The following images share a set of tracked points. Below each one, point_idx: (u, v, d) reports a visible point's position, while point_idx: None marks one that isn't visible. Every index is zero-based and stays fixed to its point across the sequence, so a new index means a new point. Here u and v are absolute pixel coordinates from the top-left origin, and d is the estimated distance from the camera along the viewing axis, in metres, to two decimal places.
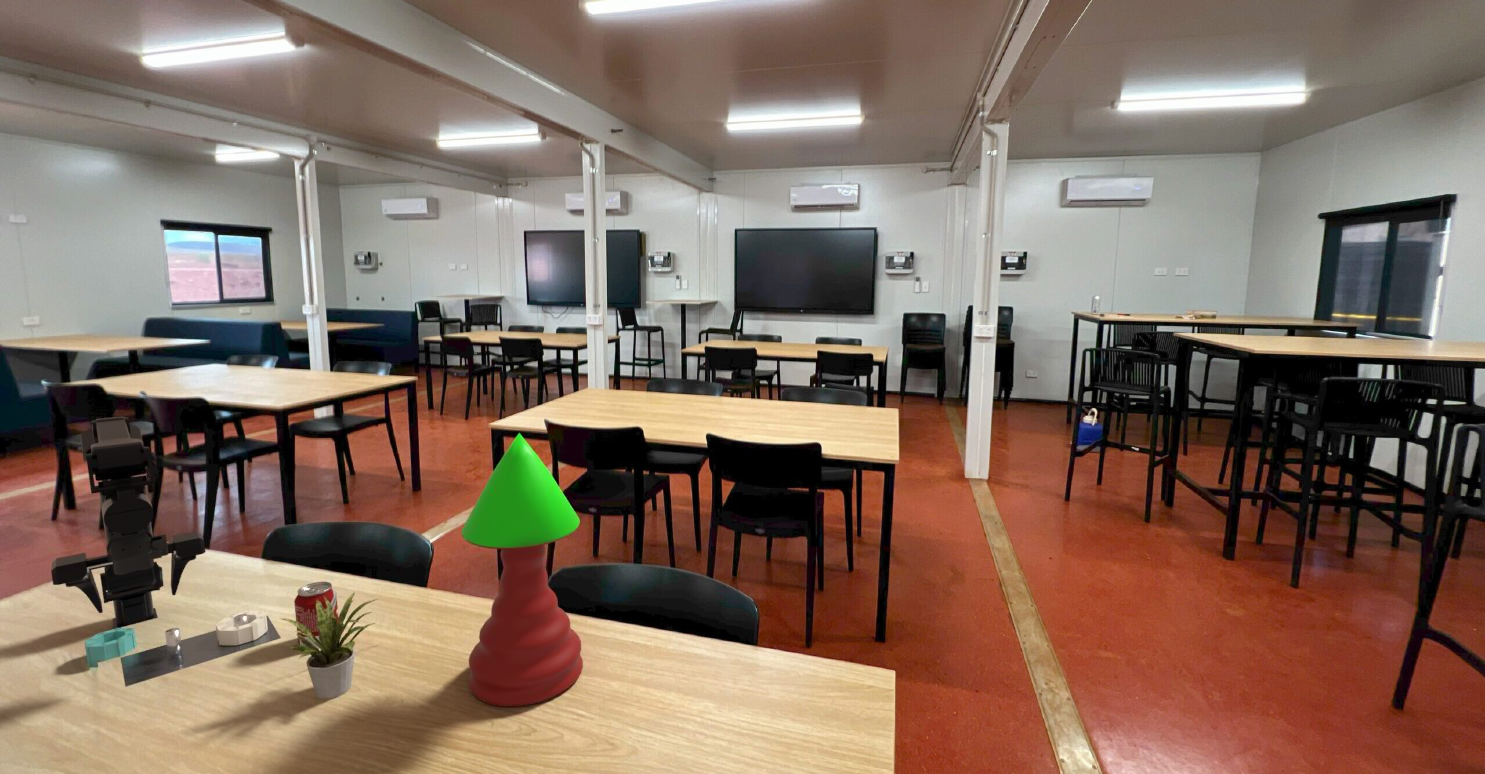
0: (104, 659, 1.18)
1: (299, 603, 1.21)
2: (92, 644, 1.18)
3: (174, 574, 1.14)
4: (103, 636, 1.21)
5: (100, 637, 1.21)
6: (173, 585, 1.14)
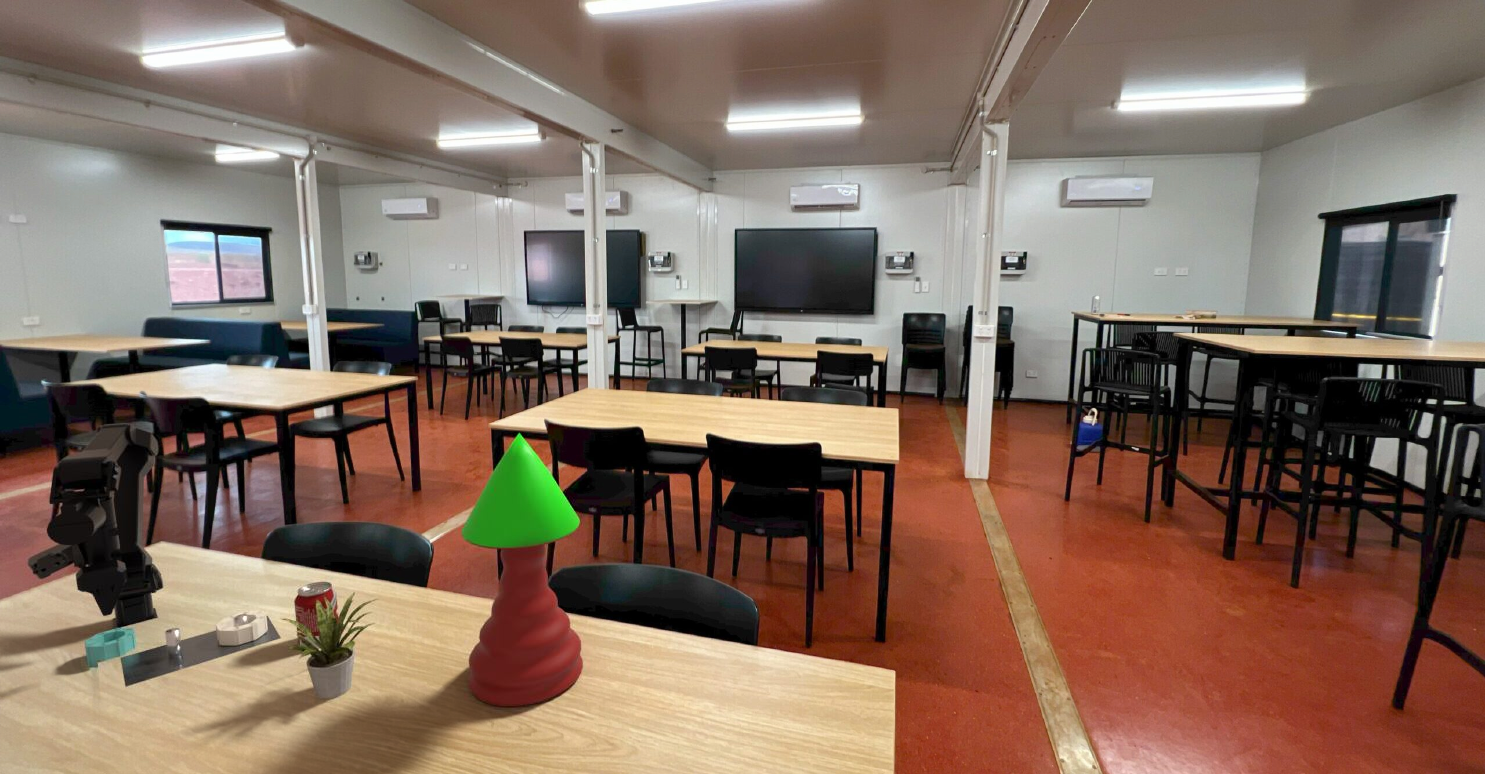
0: (104, 659, 1.18)
1: (299, 603, 1.21)
2: (92, 644, 1.18)
3: (94, 596, 1.15)
4: (103, 636, 1.21)
5: (100, 637, 1.21)
6: None
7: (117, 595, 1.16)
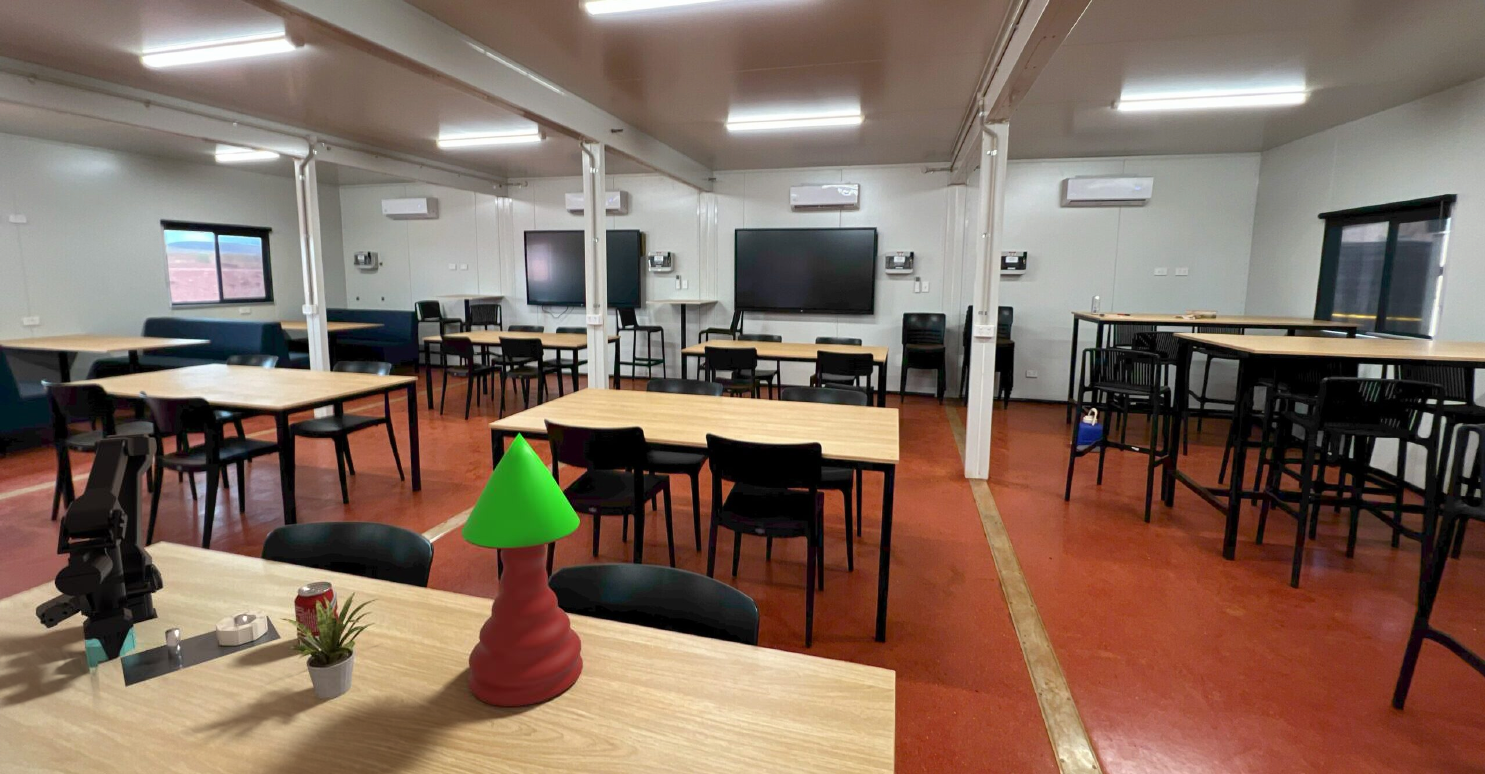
0: (104, 659, 1.18)
1: (299, 603, 1.21)
2: (92, 644, 1.18)
3: None
4: None
5: None
6: (105, 651, 1.17)
7: (123, 640, 1.18)
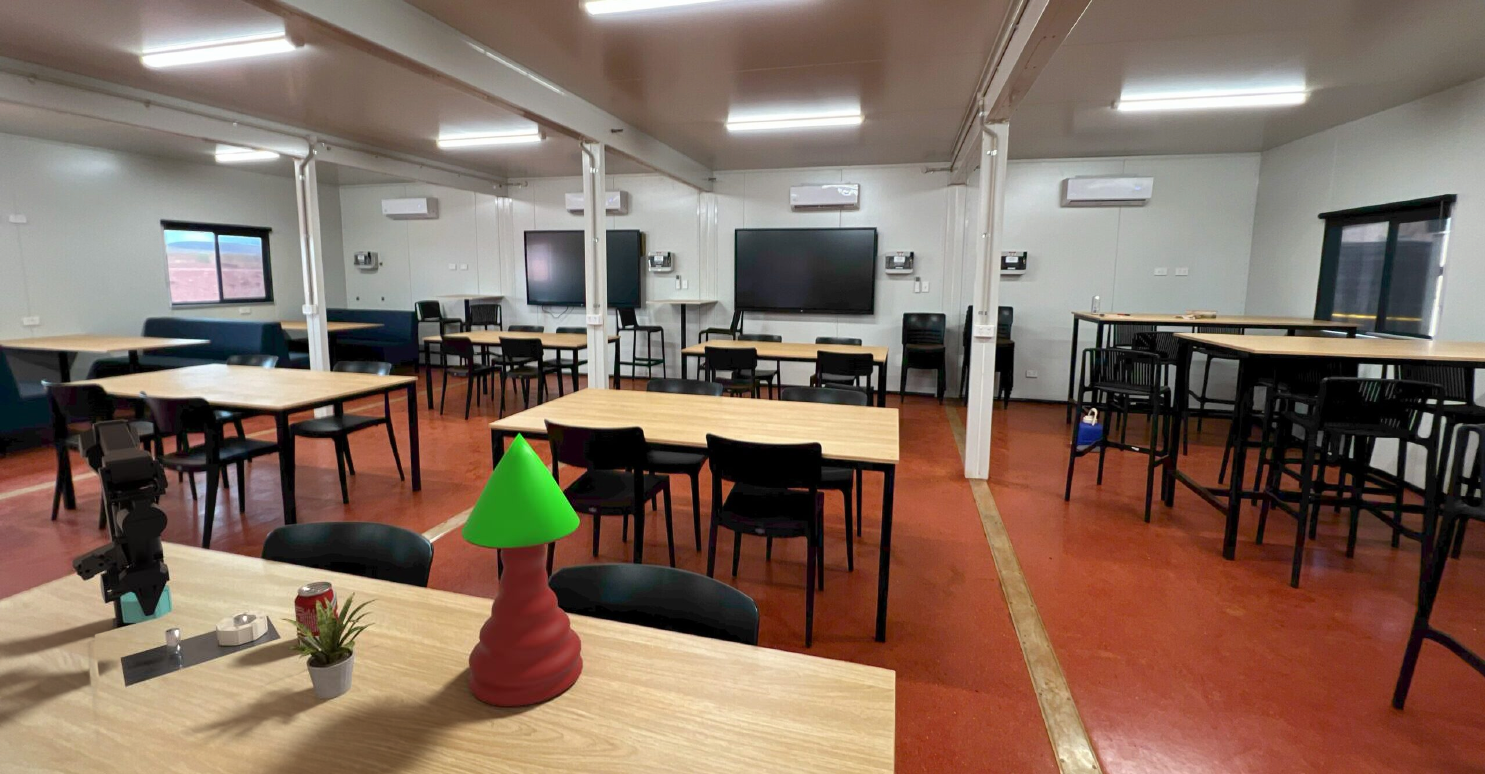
0: (139, 615, 1.15)
1: (299, 603, 1.21)
2: (127, 599, 1.15)
3: None
4: None
5: None
6: (141, 606, 1.15)
7: (159, 595, 1.15)
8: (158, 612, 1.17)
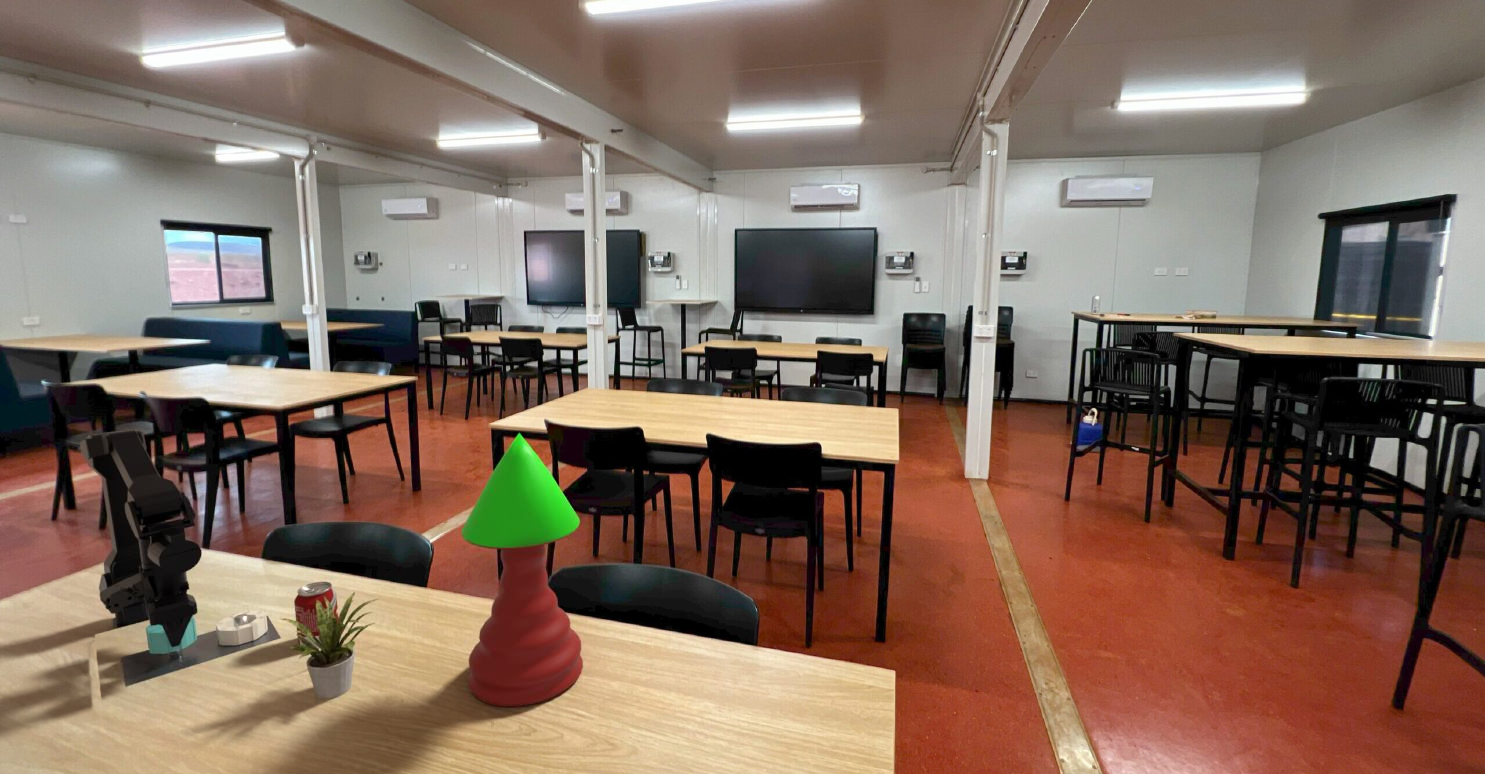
0: (166, 646, 1.16)
1: (299, 603, 1.21)
2: (154, 630, 1.16)
3: None
4: None
5: None
6: (167, 637, 1.16)
7: (185, 626, 1.17)
8: (184, 642, 1.18)
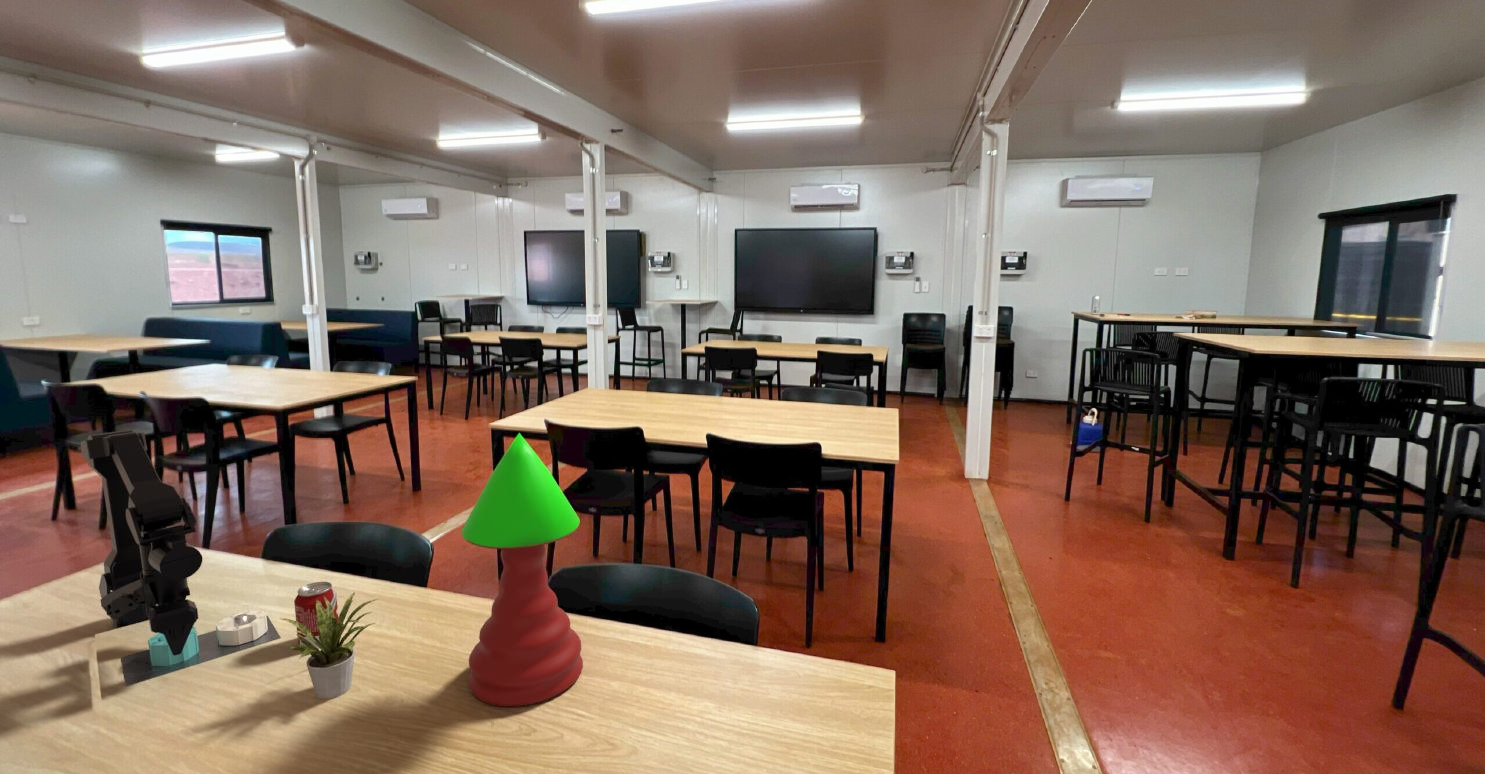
0: (168, 658, 1.16)
1: (299, 603, 1.21)
2: (156, 643, 1.17)
3: None
4: None
5: (162, 636, 1.19)
6: (169, 646, 1.15)
7: (187, 634, 1.16)
8: (186, 655, 1.18)
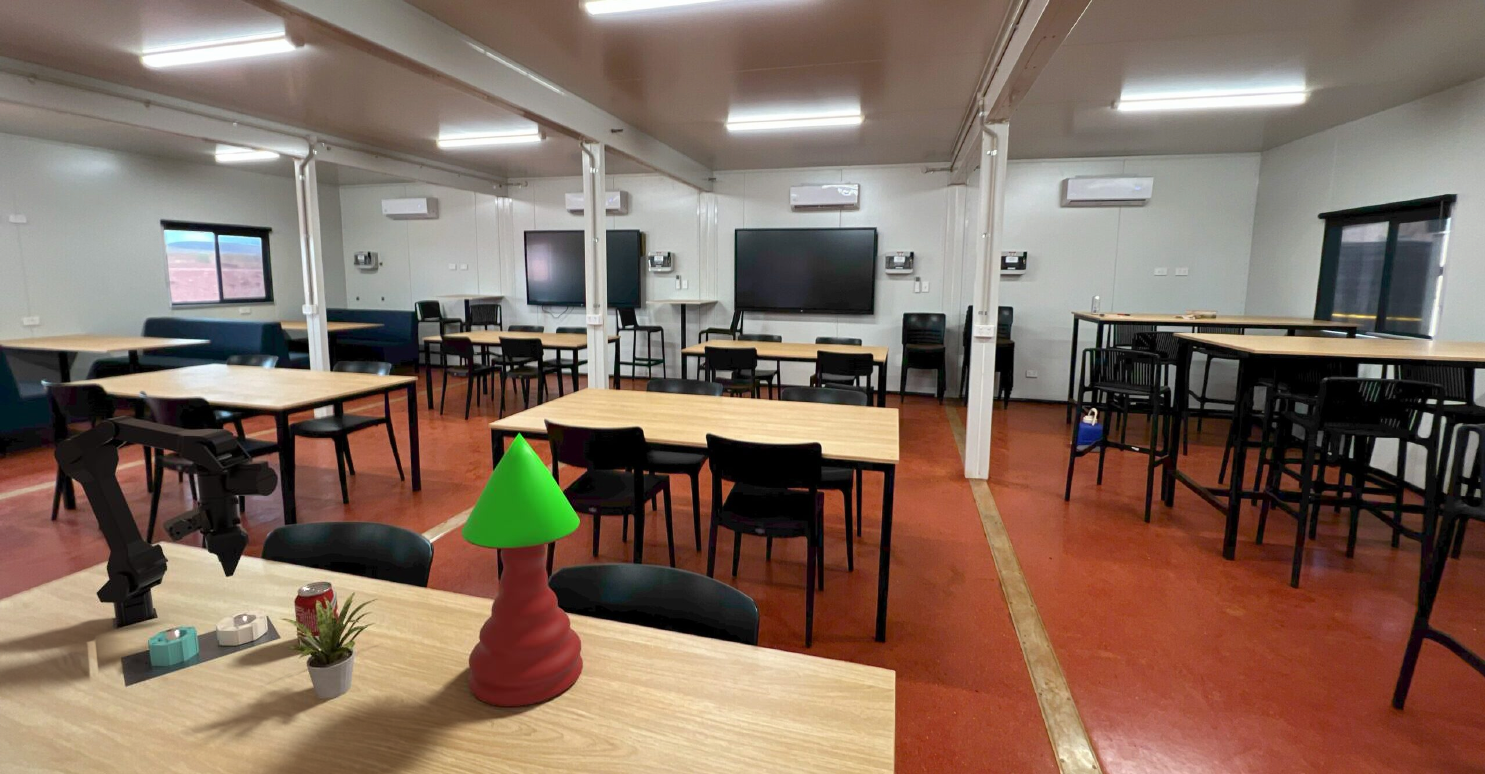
0: (168, 658, 1.16)
1: (299, 603, 1.21)
2: (156, 643, 1.17)
3: (219, 558, 1.26)
4: None
5: (162, 636, 1.19)
6: None
7: (238, 558, 1.28)
8: (186, 655, 1.18)
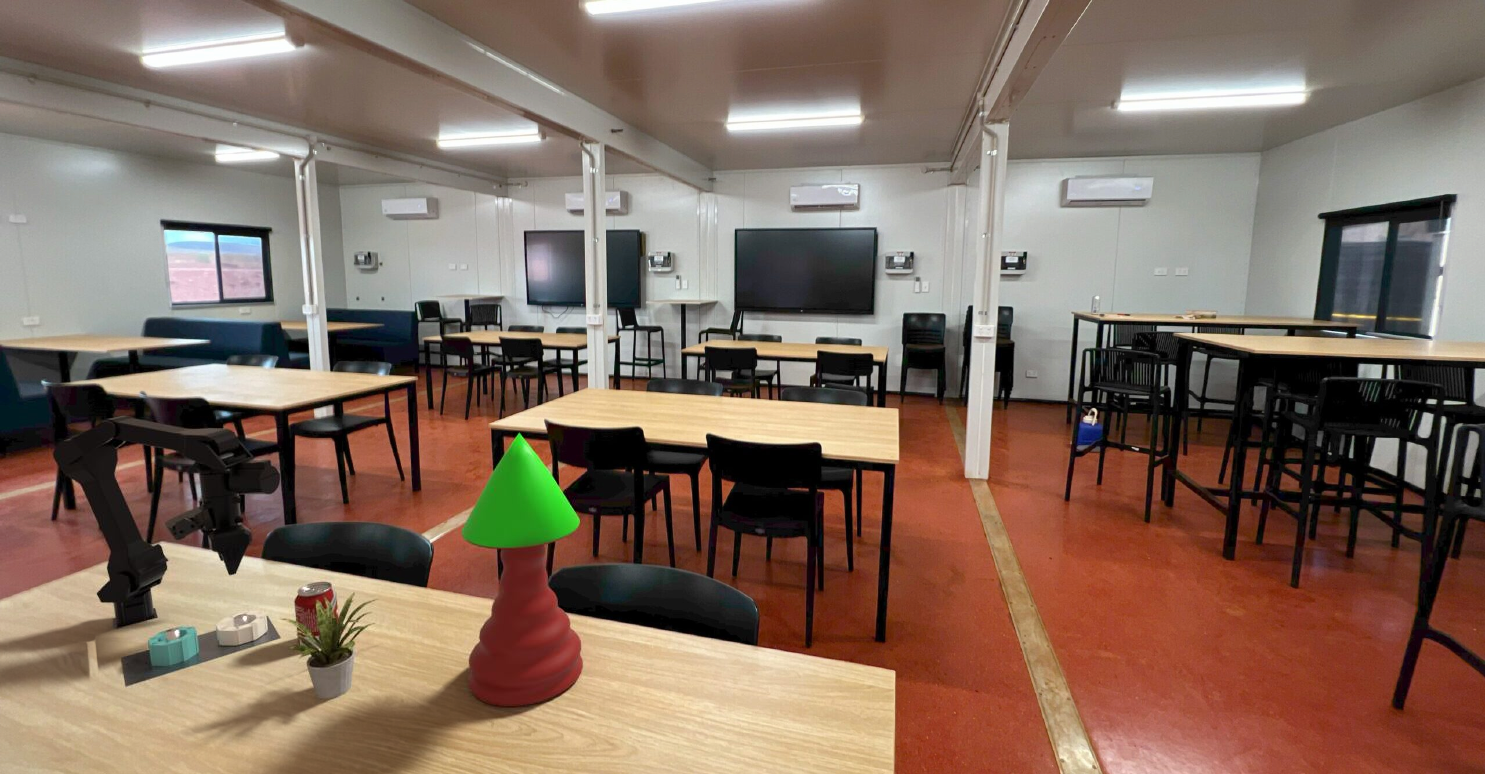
0: (168, 658, 1.16)
1: (299, 603, 1.21)
2: (156, 643, 1.17)
3: (222, 557, 1.27)
4: None
5: (162, 636, 1.19)
6: None
7: (241, 556, 1.28)
8: (186, 655, 1.18)
